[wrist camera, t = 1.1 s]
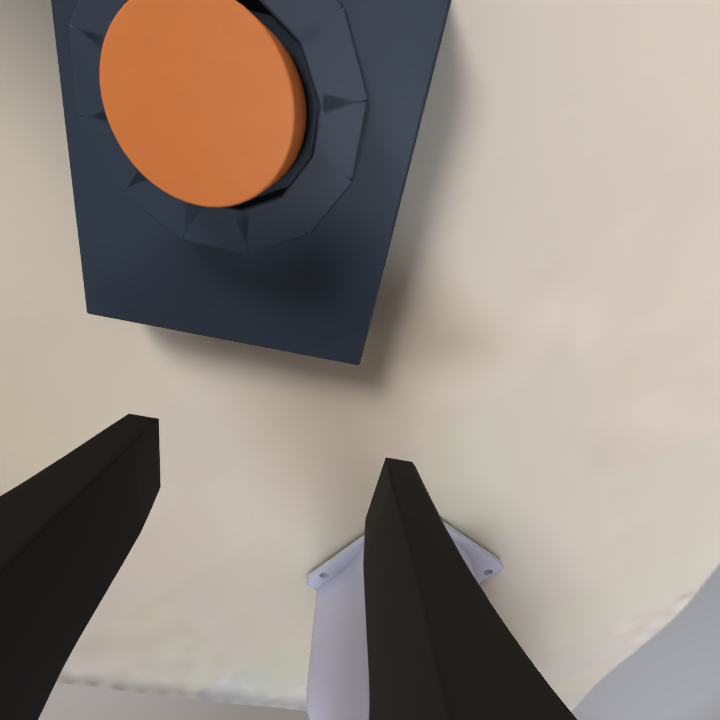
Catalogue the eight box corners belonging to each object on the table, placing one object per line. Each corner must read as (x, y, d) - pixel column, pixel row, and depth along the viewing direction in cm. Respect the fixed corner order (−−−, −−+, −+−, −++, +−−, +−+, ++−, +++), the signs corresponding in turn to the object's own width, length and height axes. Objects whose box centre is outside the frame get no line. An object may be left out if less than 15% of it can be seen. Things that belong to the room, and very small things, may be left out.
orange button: (295, 208, 12) (283, 225, 10) (147, 175, 11) (106, 186, 9) (318, 32, 10) (309, 12, 8) (140, -17, 9) (88, -48, 8)
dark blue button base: (360, 336, 18) (358, 396, 14) (121, 289, 17) (49, 339, 13) (446, -21, 12) (485, -85, 8) (92, -124, 11) (-50, -251, 7)
